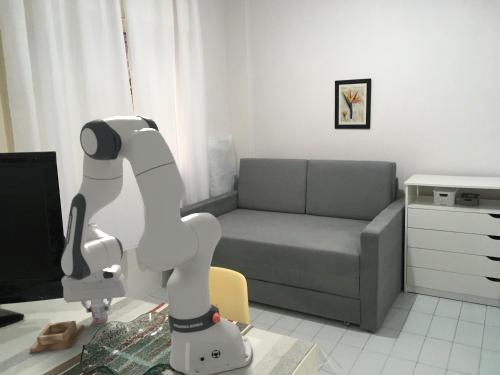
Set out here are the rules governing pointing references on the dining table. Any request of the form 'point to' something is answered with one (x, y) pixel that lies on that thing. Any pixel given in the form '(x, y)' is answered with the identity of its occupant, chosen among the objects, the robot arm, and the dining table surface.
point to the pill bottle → (98, 310)
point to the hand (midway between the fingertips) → (99, 310)
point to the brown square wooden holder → (57, 336)
